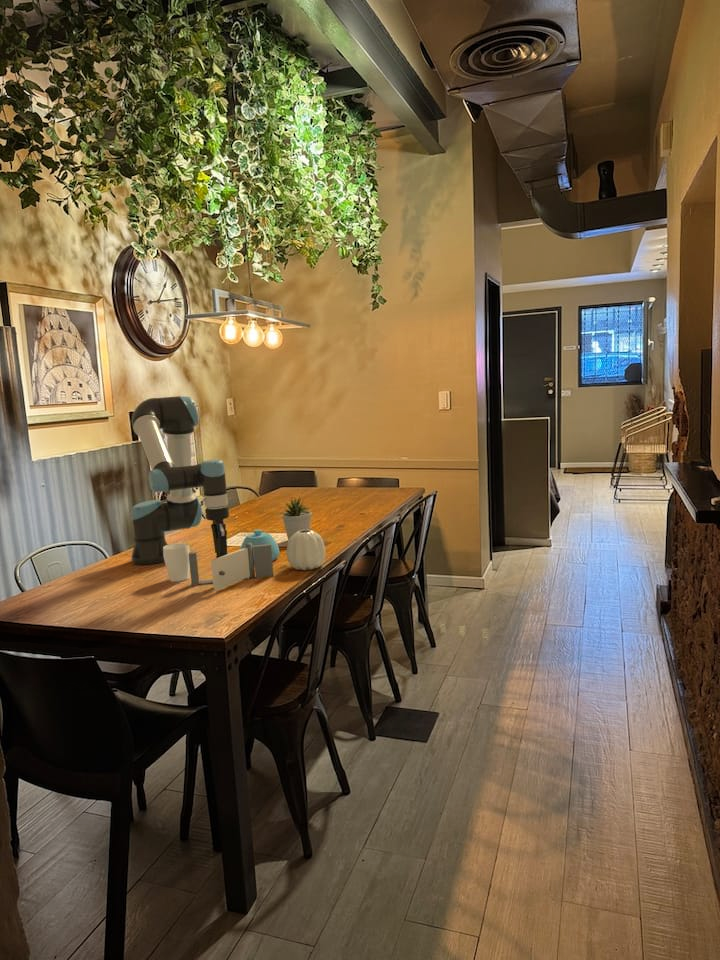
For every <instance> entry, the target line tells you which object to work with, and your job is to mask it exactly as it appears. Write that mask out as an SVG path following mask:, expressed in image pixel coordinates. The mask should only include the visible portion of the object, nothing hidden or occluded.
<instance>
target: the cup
mask: <svg viewBox="0 0 720 960" xmlns="http://www.w3.org/2000/svg"><path fill="white" fill-rule="evenodd" d="M189 552H191V551H190V545H189V543H186V542H177V543H170V544H168V545H166V546H164V547H163V556H164V560H165V561H164V564H165V568H166V571H167V575H168V578H169V581H170V582H173V583H177V582H184V581H186V580H188V579H189V578H190V563H189Z"/></svg>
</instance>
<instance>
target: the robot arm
mask: <svg viewBox="0 0 720 960" xmlns="http://www.w3.org/2000/svg"><path fill="white" fill-rule="evenodd" d="M134 409H135V410H134V411H133V413H132V416H131V427H132V429H133V432H134V434H136V436H137V437H139V440H140V442H141V445H142V448H143V450H144V453H145V455H146V458H147V460H148V464H149V466H150V468H151V470H149V472H148V484H149V487H150V488H149V489H150V490H151V491H152V492H153V493H160V492H163V493H164V492H169V494H168V495H167V496H166V502H165V501H164V502H162V500H161V499H152V500H146V501H142V502H139V503H136V504H135V505H133V506H132V507H131V510H130V515H131V516H130V519H131V524H132V532H133V533H132V534H133V549H132V551H131V552H132V553H131V557H130V558H131V563H132V564H133V565H139V566H145V565H155V564H159V563H163V562H164V563H165V560H164V556H163V547H164V546H166V545H169V544H168V543H167V540H166V538H165V535H166V534H165V533H166V532H172V531H178V530H179V531H180V530H185V529H190V528H195V527H198V526H199V525H200V523H201V520H202V515H203V509H202V502H204V507H205V509H204V511H205V512H204V513H205V519H206V520H208V521H212V523H211V524H210V529H211V533H212V539H213V546H214V553H215V554H216V555H215V558H218V557H221V556H224V555H227V554H228V543H227V542H228V541H227V538H228V537H227V536H228V535H227V534H228V531H227V528H226V525H227V524H226V523H225V522H224V520H226V519H228V518H229V517H230V513H229V506H228V505H229V499H228V492H227V481H226V469H225V464H224V461H223V460H221V459H209V460H203V461H202V462H200V463H197V464H196V465H195V464H194V465H192V452H191V451H192V449H191V446H192V445H191V436H192V434H193V433H194V432H195V427H197V426H198V425H199V421H200V419H199V414H198V413H199V412H198V409H197V406H196V403H195V401H194V400H193V398H192V397H190V396H180V395H178V396H167V397H150V398H147V399H145V400H143V401H142V402H141V403H139V404H138V405H137V406H136V408H134ZM161 429H162V432H161ZM162 433H163V434H164V435H166V437H167V444H166V441H165V440H164V437H163V434H162ZM201 487H202V492H203V498H202V501H201V500H200V499H199V498H198V497H197V495H196V494H195V492H193V489H194V488H201Z"/></svg>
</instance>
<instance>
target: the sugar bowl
mask: <svg viewBox="0 0 720 960" xmlns="http://www.w3.org/2000/svg"><path fill="white" fill-rule="evenodd" d="M262 531H263V530H262V529H254V530H253V533H250V534H247V535H246V536H245V538H244V540H243V541H242V544H241V547H240V549H239V550H241V549H243V548H246V544H247V543H252V548H253V546H255V545H264V544H271V551H272V562H273V561H275V560H276V559H278V557H279V555H280V548H279V545H278V542H277V541H276V539H274V537H273V536H272V535H271V534H270V533H269V532H262ZM253 559H254V549H253ZM254 565H255V561H254Z"/></svg>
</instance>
